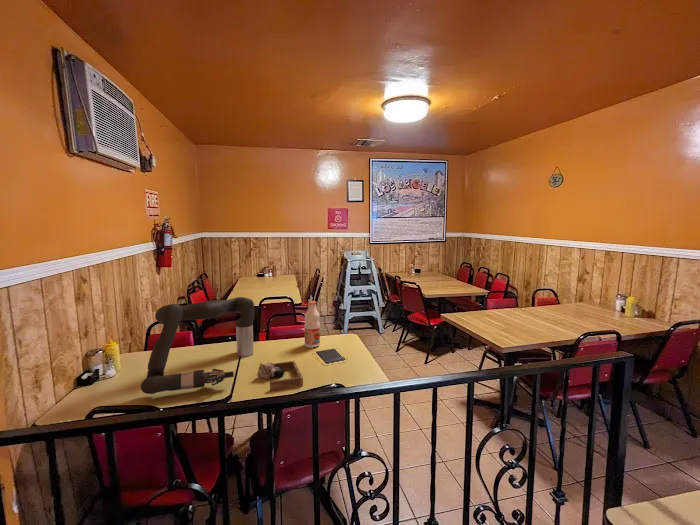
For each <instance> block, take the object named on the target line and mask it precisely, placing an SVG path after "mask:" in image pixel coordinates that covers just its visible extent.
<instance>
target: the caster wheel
mask: <svg viewBox="0 0 700 525" xmlns="http://www.w3.org/2000/svg"><path fill="white" fill-rule="evenodd" d="M285 372H286V370H284V369H283V368H282V367H279V366H275V365H274V363H272V362H266V363H264V364H263V363H259V367H258V370H257V374H256V376H257V377H258V378H260V379H264V380H267V381H270V378H271V377H276V378H281V377H283V376H284V375H285Z"/></svg>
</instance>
